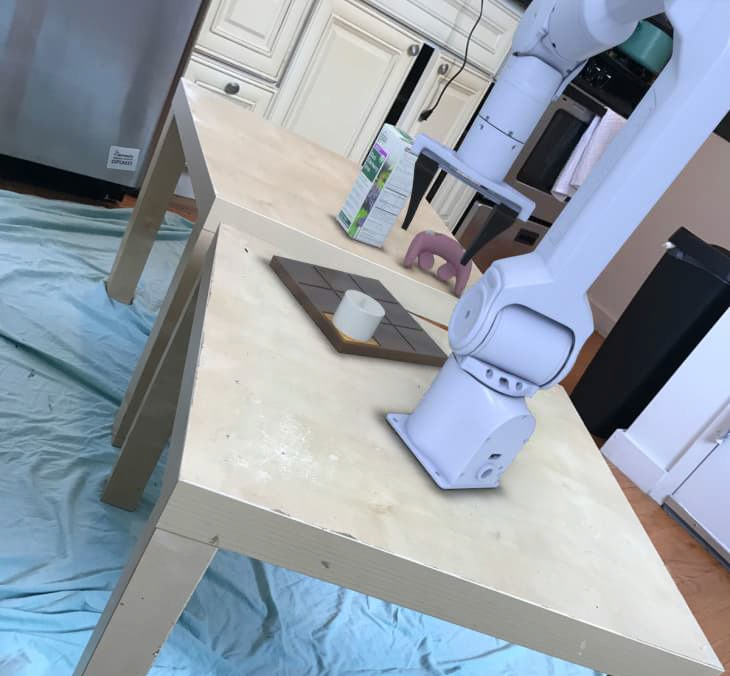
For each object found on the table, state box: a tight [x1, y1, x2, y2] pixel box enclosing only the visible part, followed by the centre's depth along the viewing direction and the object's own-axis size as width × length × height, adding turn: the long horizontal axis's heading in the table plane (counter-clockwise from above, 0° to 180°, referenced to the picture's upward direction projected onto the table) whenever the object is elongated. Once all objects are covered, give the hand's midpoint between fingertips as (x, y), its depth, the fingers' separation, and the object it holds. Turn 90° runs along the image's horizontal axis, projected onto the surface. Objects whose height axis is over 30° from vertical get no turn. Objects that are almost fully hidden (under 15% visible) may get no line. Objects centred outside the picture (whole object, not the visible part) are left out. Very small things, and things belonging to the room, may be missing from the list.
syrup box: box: [336, 122, 419, 249], centre depth 103 cm, size 6×6×14 cm
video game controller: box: [403, 229, 473, 296], centre depth 107 cm, size 10×5×7 cm, turn 84°
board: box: [269, 254, 449, 368], centre depth 83 cm, size 16×16×1 cm
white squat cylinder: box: [332, 290, 385, 342], centre depth 75 cm, size 4×4×3 cm
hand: (433, 245), depth 84 cm, fingers open, 7 cm apart
